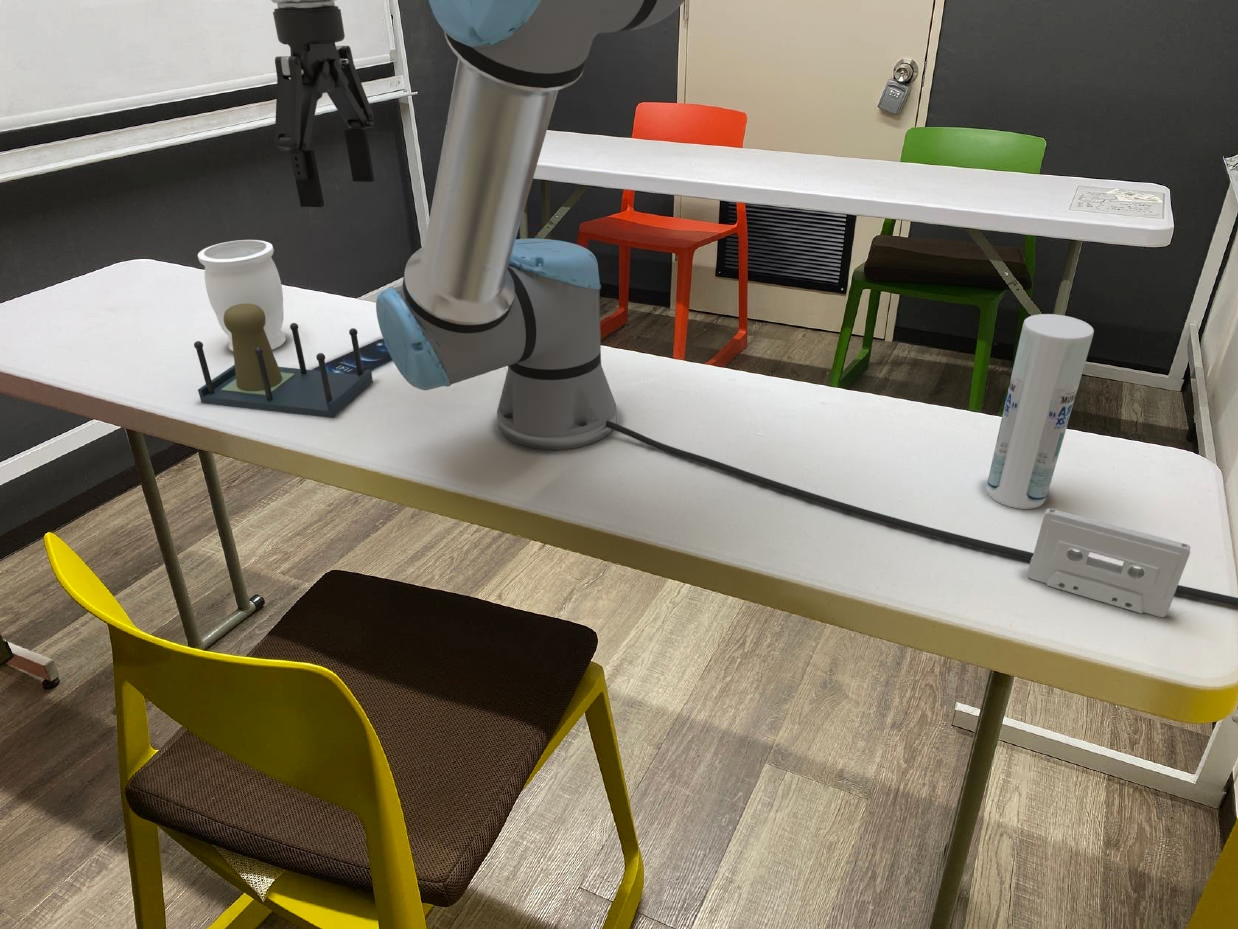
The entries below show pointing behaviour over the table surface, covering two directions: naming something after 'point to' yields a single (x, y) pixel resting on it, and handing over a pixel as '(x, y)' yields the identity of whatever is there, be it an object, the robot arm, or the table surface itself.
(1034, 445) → the spray can
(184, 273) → the table surface
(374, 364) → the smartphone
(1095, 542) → the cassette
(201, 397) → the drying rack
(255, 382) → the cork
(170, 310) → the table surface
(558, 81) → the robot arm
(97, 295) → the table surface
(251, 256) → the jar
